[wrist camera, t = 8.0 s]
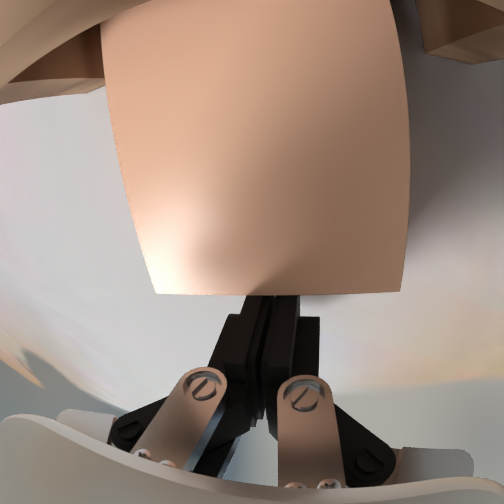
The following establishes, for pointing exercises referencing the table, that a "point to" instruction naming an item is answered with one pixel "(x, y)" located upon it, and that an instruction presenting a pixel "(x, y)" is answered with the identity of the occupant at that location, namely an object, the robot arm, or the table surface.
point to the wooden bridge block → (112, 3)
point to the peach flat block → (262, 143)
